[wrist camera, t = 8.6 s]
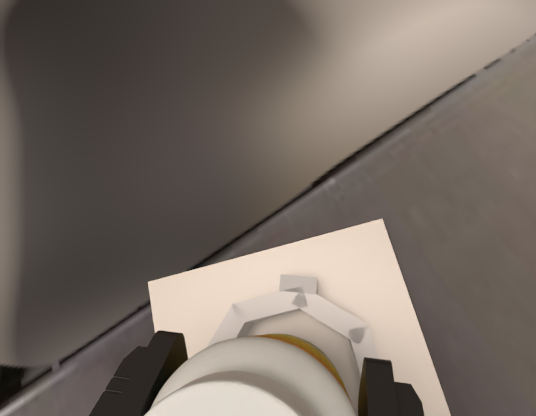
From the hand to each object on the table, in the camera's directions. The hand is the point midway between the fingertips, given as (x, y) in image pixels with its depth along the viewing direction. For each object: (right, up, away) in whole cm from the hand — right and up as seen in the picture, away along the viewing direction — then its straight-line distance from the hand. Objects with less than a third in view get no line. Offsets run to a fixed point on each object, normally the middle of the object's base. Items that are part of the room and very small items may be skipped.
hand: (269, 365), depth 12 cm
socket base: (+1, -5, +10) cm, 11 cm away
